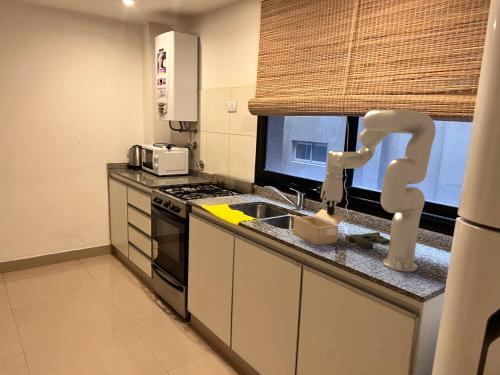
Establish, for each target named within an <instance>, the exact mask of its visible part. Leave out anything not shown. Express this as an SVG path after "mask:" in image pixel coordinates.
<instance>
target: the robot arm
mask: <svg viewBox="0 0 500 375" xmlns="http://www.w3.org/2000/svg"><path fill="white" fill-rule="evenodd" d="M362 124H363V127H364V129H363V130H362V131H360V133H359V135H358V136H359V141H360V142H361V144H362V146H361V148H359V149H358V151H342V150H329V151H328V153H327V159H326V160H327V161H326V170H325V172H326V173H325V178H324V180H323V183H322V184H321V185H322V186H321V192H320V199H321V200H322V201H321V202H322V203H323V204H325V205H326V208H327V209H326V211H327V214H329V215H334V213H335V208H337V204H339V203H341V202H342V199H343V193H344V192H343V190H344V184H343V177H344V175H343V171H344V169H347V170H348V169H360V168H362V167H364V166H365V165H366V164H367V163H368V162H370V161H371V159H372V158H373V156H374V154H375V151H376V147H377V146H378V145H379V144H380V143H381V142H382V141H384V139H385V138H387V136H389V134H405V135H407V134H408V135H409V134H410V135H411V137H410V139H409V140H408V142H407V145H406V146H405V152H404V156H403V157H402V158H396V159H393V160H392V161H390V162H389V163H388V165H387V167H386V169H385V171H384V175H383V176H384V177H383V182H382V186H381V192H380V205H381V207H382V209H383V210H384V211H386V212H387V213H389V214H390V213H391V214H394V215H393V217H392V220H391V227H390V233H389V234H390V237H389V240H390V242H389V244H388V245H389V246H388V252H387V257H386V258H384V259H382V264H383V266H385V267H386V268H389V269H391V270H395V271H399V272H404V273H408V272H409V273H412V272H415V271H417V270H418V265H417V264H416V263H415V262H414V261H415V252H416V245H417V240H418V239H417V238H418V231H419V227H420V226H419V225H420V219H421V215H422V212H423V208H424V206H425V201H426V200H425V194H424V193H423V192H422V190H421V189H419V188H418V187H415V186H408V185H414V184H420V183H422V182H423V181H424V180H425V178H426V177H427V173H428V166H429V164H430V163H429V161H430V157H431V154H432V148H433V143H434V141H435V138H436V137H435V136H436V132H437V130H436V123H435V121H434V120H433V118H432V117H431V116H430V115H428V114H426V113H424V112H421V111H417V110H409V109H408V110H407V109H372V110H370V111H368V112H367V113H366V114H365V115H364V117H363V120H362Z"/></svg>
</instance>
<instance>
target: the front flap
mask: <svg viewBox="0 0 500 375" xmlns="http://www.w3.org/2000/svg"><path fill="white" fill-rule="evenodd" d="M287 215H288V216H290V217H293V218H296V219H299V220H301V221H304V222H306V223H309V224H311V225H313V226H316V227H317V225H315V224H313V223H311V222H308V221H306V220H304V219H301V218H299V217H300V216H296V215H294V214H290V213H287Z"/></svg>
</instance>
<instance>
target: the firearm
mask: <svg viewBox="0 0 500 375" xmlns="http://www.w3.org/2000/svg"><path fill="white" fill-rule="evenodd" d="M344 239H345V241H346V242H347V243H354V244H357V246H358V247H359V248H361V249H363V250H372V249H374V244H373V243H377V244H380V245H382V246H383V245H389V242H390V238H386V237H384V236H383V235H381V233H380V232H379V231H375V232H368V233H367V232H366V233H361V234H359V233H355V234H346V235H345V238H344Z"/></svg>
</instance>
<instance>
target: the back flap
mask: <svg viewBox="0 0 500 375" xmlns="http://www.w3.org/2000/svg"><path fill="white" fill-rule="evenodd" d="M314 217H316V218H318V219H321V220H324V221H326V222H329V223H332V224H334V225H337V226H339V224H340V223H341V222H342V221H343V220H344V219H345V216H344V215H340V214H338V213H335V212H334V215H329V214H327V209H323V208H322V209H320V210H319V211H318V212H317V213H316V214H315V215H314Z"/></svg>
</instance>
